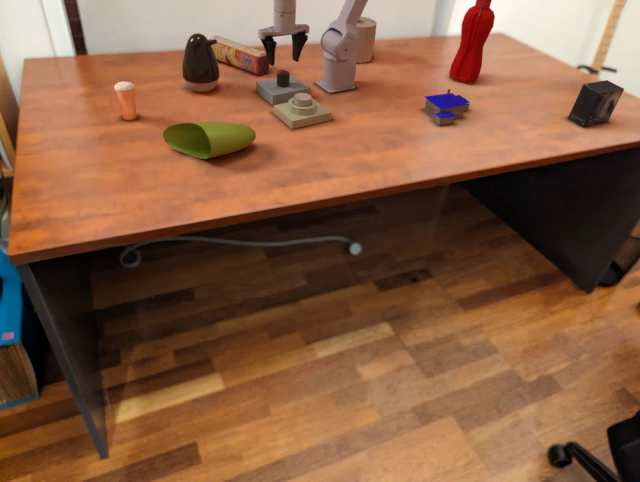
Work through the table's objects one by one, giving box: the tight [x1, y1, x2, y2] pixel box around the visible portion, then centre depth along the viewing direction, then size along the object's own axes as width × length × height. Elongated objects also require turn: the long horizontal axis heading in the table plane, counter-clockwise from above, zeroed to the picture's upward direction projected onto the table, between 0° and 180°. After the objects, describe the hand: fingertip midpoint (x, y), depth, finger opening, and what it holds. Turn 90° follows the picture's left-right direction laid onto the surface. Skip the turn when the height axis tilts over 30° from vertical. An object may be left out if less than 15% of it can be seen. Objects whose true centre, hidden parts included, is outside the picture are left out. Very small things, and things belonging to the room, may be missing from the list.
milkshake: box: [113, 74, 138, 121], centre depth 122 cm, size 4×5×10 cm
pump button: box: [294, 93, 313, 107], centre depth 130 cm, size 5×5×2 cm
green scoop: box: [162, 121, 257, 160], centre depth 113 cm, size 8×12×20 cm
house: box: [423, 88, 471, 126], centre depth 138 cm, size 11×14×6 cm
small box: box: [567, 79, 625, 128], centre depth 140 cm, size 11×6×10 cm, turn 117°
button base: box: [272, 97, 332, 130], centre depth 131 cm, size 12×10×4 cm
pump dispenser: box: [181, 32, 221, 93], centre depth 137 cm, size 10×10×15 cm
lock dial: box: [276, 69, 291, 87], centre depth 139 cm, size 4×4×4 cm
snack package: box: [208, 35, 270, 76], centre depth 154 cm, size 21×7×7 cm, turn 56°
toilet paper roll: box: [341, 15, 377, 64], centre depth 166 cm, size 12×12×12 cm
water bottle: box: [449, 0, 496, 84], centre depth 153 cm, size 9×11×25 cm
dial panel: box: [255, 75, 311, 106], centre depth 141 cm, size 12×10×3 cm
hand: (283, 62), depth 136 cm, fingers open, 7 cm apart
